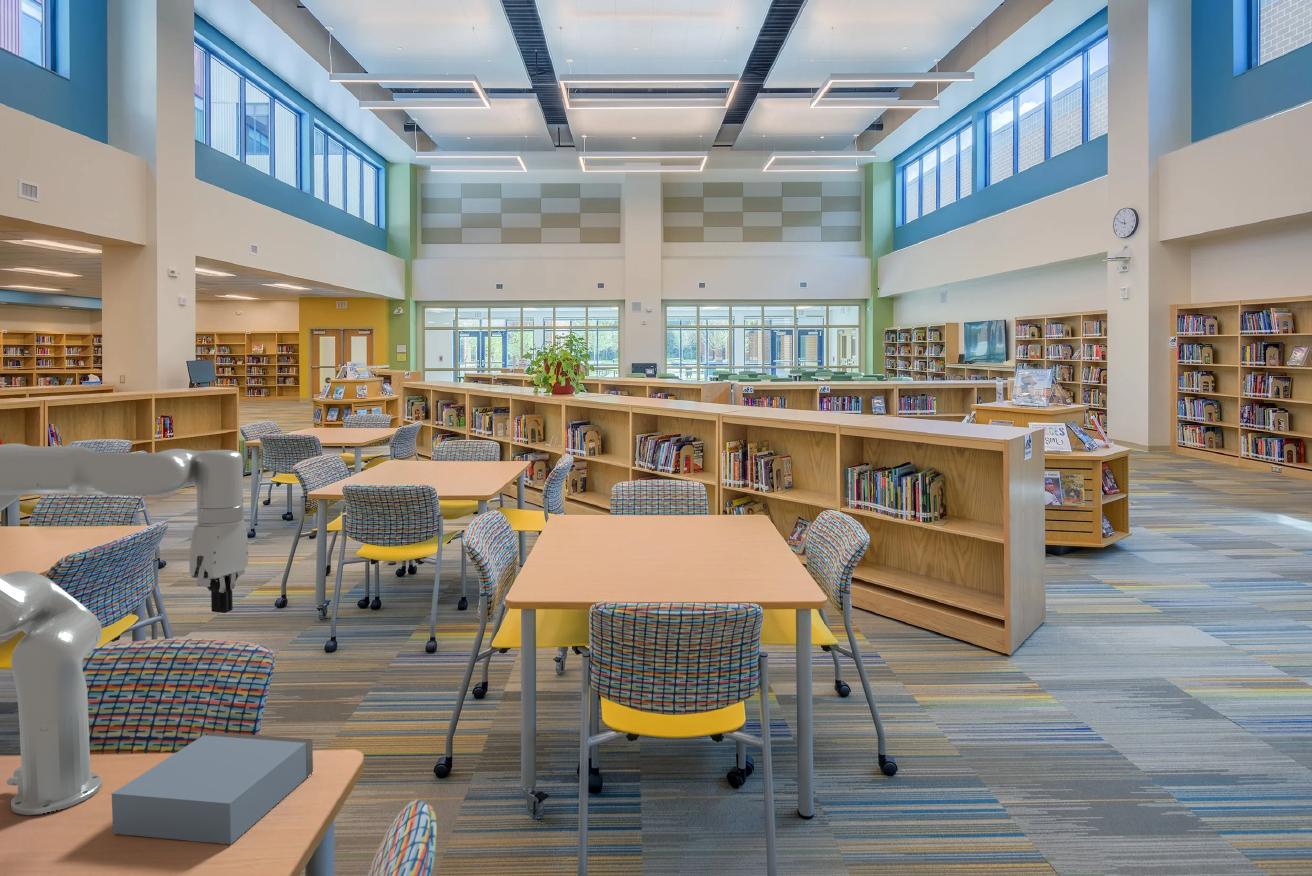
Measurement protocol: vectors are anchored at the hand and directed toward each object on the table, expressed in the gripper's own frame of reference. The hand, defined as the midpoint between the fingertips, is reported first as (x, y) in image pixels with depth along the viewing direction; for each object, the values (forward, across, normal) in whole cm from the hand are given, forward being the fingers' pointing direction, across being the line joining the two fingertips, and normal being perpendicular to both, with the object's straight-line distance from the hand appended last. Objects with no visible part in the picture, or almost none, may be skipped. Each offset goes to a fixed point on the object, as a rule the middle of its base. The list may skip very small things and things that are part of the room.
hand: (222, 611), depth 139 cm
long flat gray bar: (+31, -1, +7) cm, 32 cm away
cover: (+31, +11, +7) cm, 34 cm away
